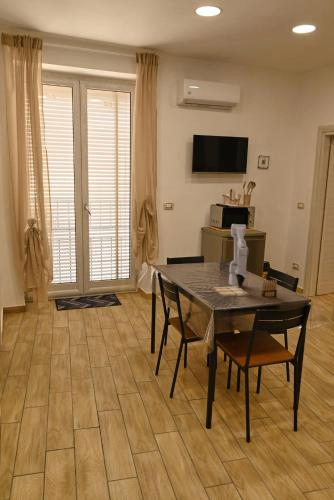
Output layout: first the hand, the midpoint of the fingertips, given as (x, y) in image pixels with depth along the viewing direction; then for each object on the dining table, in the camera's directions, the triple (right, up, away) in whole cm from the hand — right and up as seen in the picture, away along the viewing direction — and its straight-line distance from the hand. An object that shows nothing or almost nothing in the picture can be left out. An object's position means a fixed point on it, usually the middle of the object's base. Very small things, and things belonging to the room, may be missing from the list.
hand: (240, 285), depth 266 cm
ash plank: (-2, -5, +1) cm, 5 cm away
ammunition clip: (+18, -8, -5) cm, 20 cm away
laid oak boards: (-11, -5, -2) cm, 12 cm away
